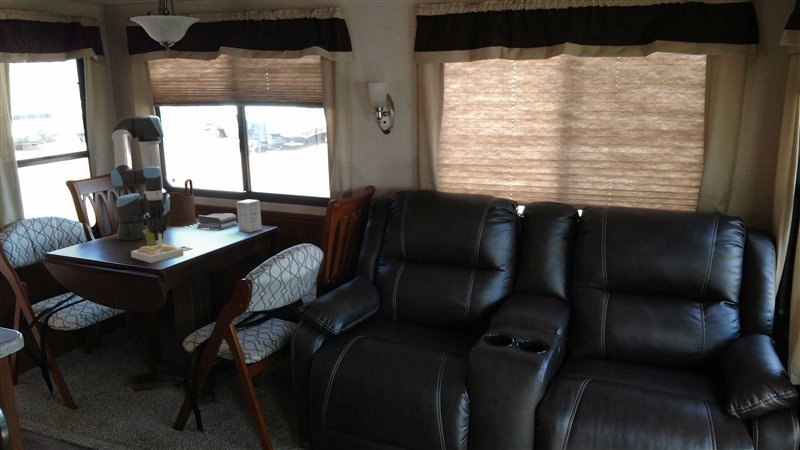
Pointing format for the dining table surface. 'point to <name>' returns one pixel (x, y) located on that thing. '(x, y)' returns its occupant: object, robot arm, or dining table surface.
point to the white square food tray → (156, 257)
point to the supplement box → (249, 215)
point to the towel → (217, 221)
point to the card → (185, 248)
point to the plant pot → (150, 238)
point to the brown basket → (182, 208)
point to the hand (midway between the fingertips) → (159, 246)
